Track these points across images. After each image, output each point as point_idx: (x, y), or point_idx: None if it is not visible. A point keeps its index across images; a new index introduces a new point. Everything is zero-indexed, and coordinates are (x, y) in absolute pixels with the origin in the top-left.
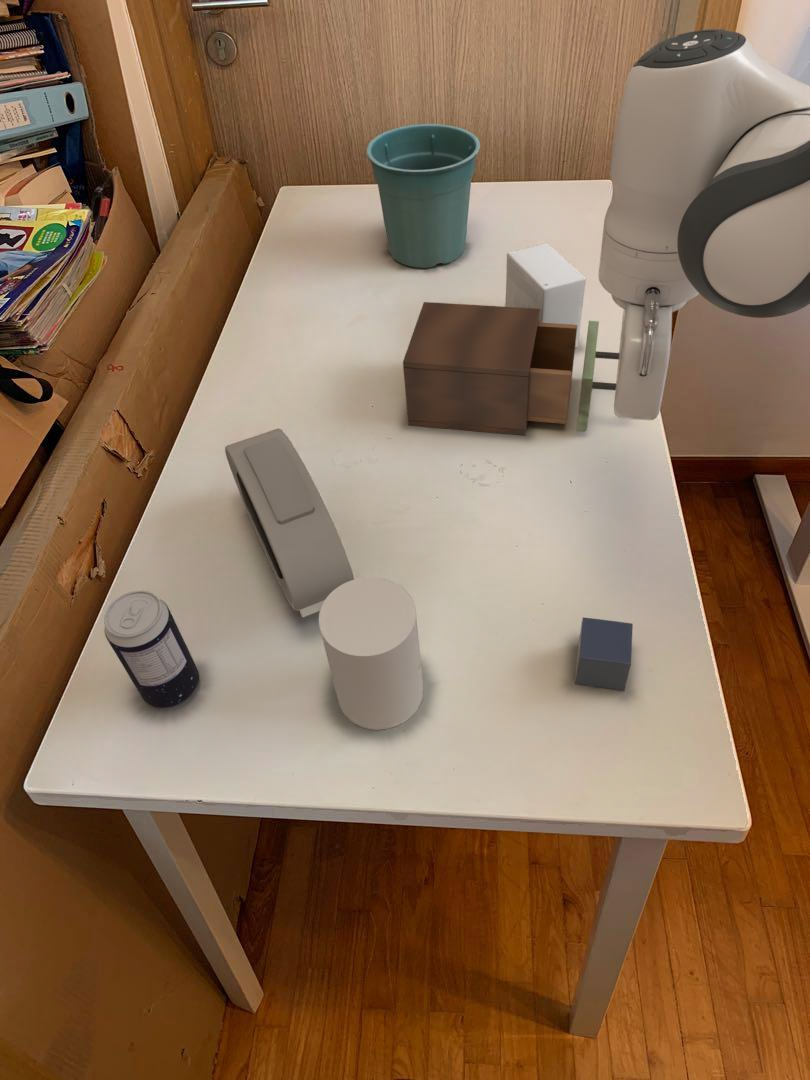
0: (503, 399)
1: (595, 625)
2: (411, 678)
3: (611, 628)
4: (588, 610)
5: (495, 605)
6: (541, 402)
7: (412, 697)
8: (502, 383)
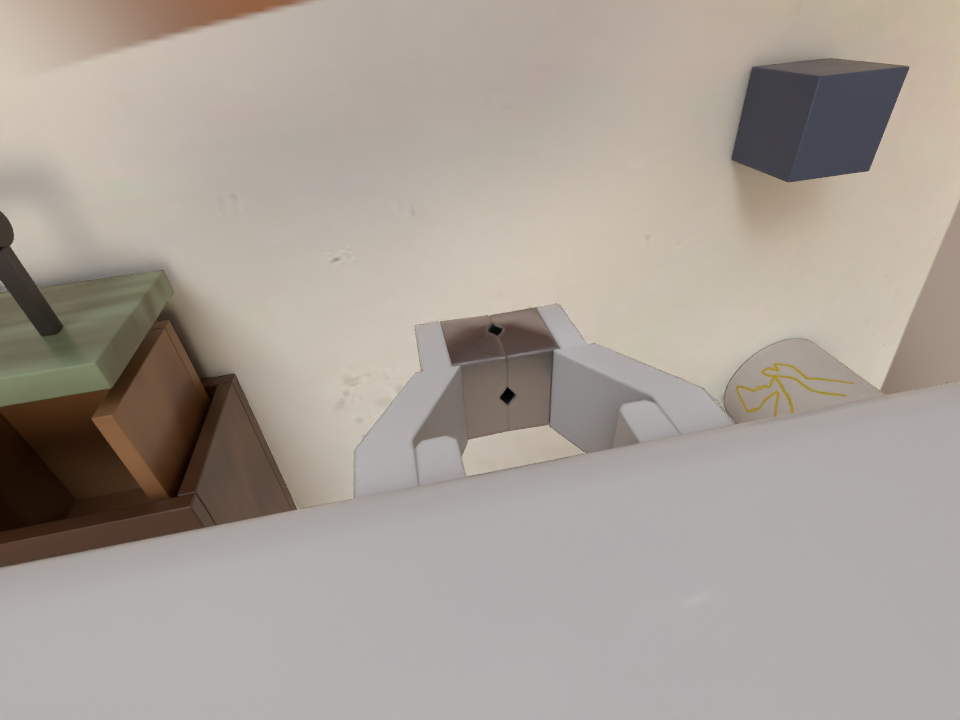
0: (234, 473)
1: (810, 154)
2: (871, 386)
3: (822, 121)
4: (660, 156)
5: (651, 302)
6: (178, 403)
7: (837, 361)
8: (226, 511)
